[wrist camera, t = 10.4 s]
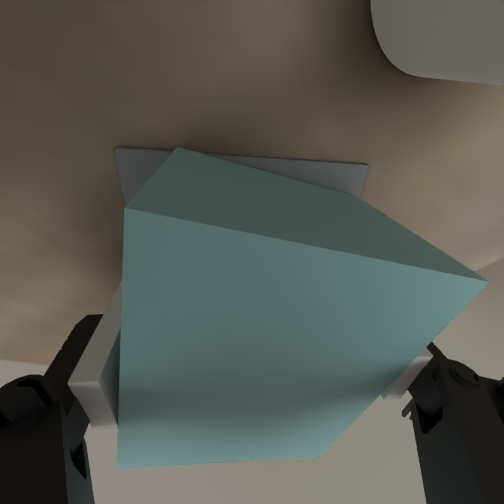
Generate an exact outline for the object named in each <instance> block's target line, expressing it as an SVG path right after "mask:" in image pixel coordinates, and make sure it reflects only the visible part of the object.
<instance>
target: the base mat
mask: <svg viewBox="0 0 504 504" xmlns="http://www.w3.org/2000/svg"><path fill="white" fill-rule="evenodd" d="M113 149H114V154H115V159H116V164H117V169H118V174H119V179H120V184H121V189H122V194H123V198H124V203H125V206H126V205H127V204H128V203H129V202H130V201H131V199H132V198H133V197H134V196H135V195H136V194H137V193H138V191H139V190H140V189H141V188H142V187H143V186H144V185H145V183H146V182H147V181H148V180H149V179H150V178H151V177H152V175H153V174H154V173H155V172H156V171H157V170H158V169H159V167H160V166H161V165H162V164H163V163H164V162H165V161H166V159H167V158H168V157H169V156H170V155H171V154H172V152H173V151H172V150H157V149H142V148H128V147H115V148H113ZM198 153H201V152H198ZM202 154H205V155H209V156H212V157H216V158H220V159H223V160H227V161H230V162H234V163H238V164H241V165H245V166H248V167H252V168H255V169H259V170H263V171H266V172H270V173H273V174H277V175H281V176H284V177H288V178H291V179H295V180H299V181H302V182H306V183H309V184H313V185H317V186H320V187H324V188H327V189H331V190H335V191H338V192H342V193H345V194H349V195H353V196H356V197H358V198H360V195H361V192H362V189H363V186H364V183H365V180H366V177H367V174H368V171H369V168H370V165H368V164H364V163H349V162H334V161H319V160H305V159H290V158H275V157H260V156H246V155H231V154H216V153H202Z"/></svg>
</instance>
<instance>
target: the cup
mask: <svg viewBox="0 0 504 504" xmlns="http://www.w3.org/2000/svg"><path fill="white" fill-rule="evenodd" d="M370 3H371V14H372V21H373V26H374V30H375V34H376V37H377V40H378V42H379V44H380V47H381V49H382V50H383V52H384V54H385V55H386V57H387V58H388V59H389V61H390V62H391V63H392V64H393V65H394V66H396V67H397V68H398V69H399V70H401V71H403V72H405V73H407V74H410V75H413V76H418V77H427V78H436V79H445V80H454V81H463V82H472V83H481V84H490V85H500V86H504V0H370Z"/></svg>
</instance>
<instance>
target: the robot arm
mask: <svg viewBox="0 0 504 504" xmlns="http://www.w3.org/2000/svg"><path fill="white" fill-rule="evenodd" d="M121 304H122V281H121V282H120V284H119V286H118V288H117V290H116V292H115V294H114V296H113V298H112V299H111V301H110V303H109V305H108V307H107V309H106V311H105V313H104V314H97V315H87V316H86V317H84V318H83V319H82V320H81V321H80V322H79V323H77V324H76V325H75V327H74V328H73V330H72V332H71V333H70V335H69V336H68V340H66V341H65V343H64V344H63V346H62V349H61V350H60V351H59V352H58V354H57V355H56V357H55V359H54V360H53V362H52V363H51V365H50V366H49V368H48V370H47V371H46V373H45V375H44V376H42V375H27V376H24V377H20V378H17V379H15V380H13V381H11V382H10V383H7V384H5V385H4V386H2V387H1V388H0V504H95V503H94V496H93V490H92V482H91V475H90V468H89V461H88V454H87V447H86V442H85V439H84V434H85V432H86V429H87V427H88V424H89V423H90V425H91V426H92V428H93V430H100V429H109V428H118V410H119V375H120V339H121ZM407 390H408V391H409V393H410V394H411V395H412V397H413V398H412V399H411V401H410V402H409V403H408V404H407V406H406V407H405V408H404V409H403V410H402V416H403V417H406V415H407V414H408V413H409V412H410V411H411V416H410V418H409V419H410V420H412V422H413V428H414V433H415V439H416V445H417V451H418V456H419V462H420V467H421V474H422V479H423V485H424V490H425V497H426V503H427V504H504V377H503V378H502V379H501V380H500V381H498V380H494V379H490V378H485V377H481V376H478V375H477V374H476V373H475V372H474V371H473V370H472V369H470V368H469V367H467V366H466V365H464V364H462V363H460V362H458V361H454V360H450V359H447V358H446V357H445V356H444V355H443V354H442V352H441V351H440V350H439V349H438V348H437V347H436V346H435V345H434V343H433V342H431V343H430V344H429V345H428V346H427V347H426V348H425V349H424V350H423V351H422V352H421V353H420V354H419V355H418V356H417V357H416V358H415V359H414V360H413V361H412V362H411V363H410V364H409V365H408V366H407V367H406V368H405V369H404V370H403V371H402V373H401V374H400V375H399V376H398V377H397V378H396V379H395V380H394V381H393V382H392V383H391V384H390V385H389V386H388V387H387V388H386V389H385V390H384V391H383V392H382V393H381V395H382V397H383V399H384V400H388V399H399V398H401V397H402V396H403V395H404V394H405V392H406V391H407Z"/></svg>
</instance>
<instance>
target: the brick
mask: <svg viewBox="0 0 504 504" xmlns="http://www.w3.org/2000/svg"><path fill="white" fill-rule="evenodd" d="M488 283H489V281H487V280H486V279H484V278H483V277H481V276H480V275H478V274H477V273H475V272H473V271H472V270H470V269H469V268H467V267H466V266H464V265H463V264H461V263H459V262H458V261H456V260H455V259H453V258H452V257H450V256H449V255H447V254H445V253H444V252H442V251H441V250H439V249H438V248H436V247H435V246H433V245H431V244H430V243H428V242H427V241H425V240H424V239H422V238H421V237H419V236H417V235H416V234H414V233H413V232H411V231H410V230H408V229H407V228H405V227H403V226H402V225H400V224H399V223H397V222H396V221H394V220H393V219H391V218H389V217H388V216H386V215H385V214H383V213H382V212H380V211H379V210H377V209H375V208H374V207H372V206H371V205H369V204H368V203H366V202H365V201H363V200H361V199H360V198H358V197H356V196H353V195H349V194H345V193H342V192H338V191H335V190H331V189H327V188H324V187H320V186H317V185H313V184H309V183H306V182H302V181H299V180H295V179H291V178H288V177H284V176H281V175H277V174H273V173H270V172H266V171H263V170H259V169H255V168H252V167H248V166H245V165H241V164H238V163H234V162H230V161H227V160H223V159H220V158H216V157H212V156H209V155H205V154H202V153H198V152H194V151H191V150H187V149H184V148H180V147H177V148H176V149H175V150H174V151H173V152H172V154H171V155H170V156H169V157H168V158H167V159H166V161H165V162H164V163H163V164H162V165H161V166H160V167H159V169H158V170H157V171H156V172H155V173H154V174H153V175H152V177H151V178H150V179H149V180H148V181H147V182H146V183H145V185H144V186H143V187H142V188H141V189H140V190H139V191H138V193H137V194H136V195H135V196H134V197H133V198H132V199H131V201H130V202H129V203H128V204H127V205H126V206H125V207H124V234H123V269H122V304H121V339H120V375H119V410H118V445H117V469H119V468H120V469H121V468H137V467H156V466H173V465H190V464H208V463H224V462H243V461H259V460H277V459H294V458H310V457H311V458H312V457H320V456H321V455H322V454H323V453H324V452H325V451H326V450H327V449H328V448H329V447H330V446H331V444H333V443H334V442H335V441H336V440H337V439H338V438H339V437H340V435H341V434H342V433H343V432H344V431H345V430H346V429H347V428H348V427H349V426H350V425H351V424H352V423H353V422H354V421H355V420H356V419H357V418H358V417H359V416H360V415H361V414H362V413H363V412H364V411H365V410H366V409H367V408H368V407H369V406H370V405H371V403H372V402H373V401H374V400H375V399H376V398H377V397H378V396H379V395H380V394H381V393H382V392H383V391H384V390H385V389H386V388H387V387H388V386H389V385H390V384H391V383H392V382H393V381H394V380H395V379H396V378H397V377H398V376H399V375H400V374H401V373H402V371H403V370H404V369H405V368H406V367H407V366H408V365H409V364H410V363H411V362H412V361H413V360H414V359H415V358H416V357H417V356H418V355H419V354H420V353H421V352H422V351H423V350H424V349H425V348H426V347H427V346H428V345H429V344H430V343H431V342H432V340H433V339H434V338H435V337H436V336H437V335H438V334H439V333H440V332H441V331H442V330H443V329H444V328H445V327H446V326H447V325H448V324H449V323H450V322H451V321H452V320H453V319H454V318H455V316H457V315H458V314H459V313H460V312H461V311H462V310H463V308H464V307H465V306H466V305H467V304H468V303H469V302H470V301H471V300H472V299H473V298H474V297H475V296H476V295H477V294H478V293H479V292H480V291H481V290H482V289H483V288H484V287H485V286H486V285H487V284H488Z"/></svg>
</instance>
